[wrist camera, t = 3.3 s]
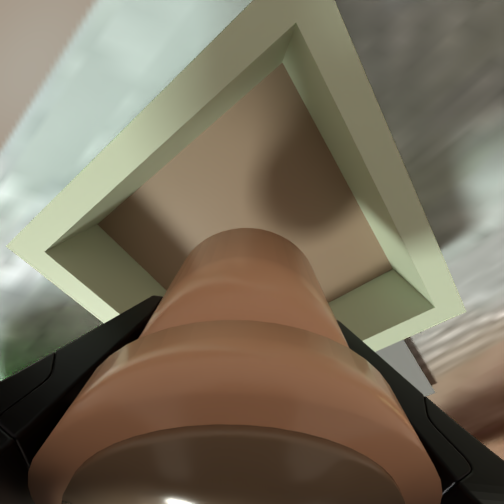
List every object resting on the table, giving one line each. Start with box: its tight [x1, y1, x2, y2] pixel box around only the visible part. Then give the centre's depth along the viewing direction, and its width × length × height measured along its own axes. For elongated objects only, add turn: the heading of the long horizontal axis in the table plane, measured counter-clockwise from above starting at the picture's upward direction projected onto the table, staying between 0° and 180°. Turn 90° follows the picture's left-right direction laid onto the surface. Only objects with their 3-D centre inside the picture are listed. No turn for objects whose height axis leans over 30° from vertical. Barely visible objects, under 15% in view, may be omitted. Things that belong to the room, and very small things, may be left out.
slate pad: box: [376, 340, 435, 396], centre depth 20 cm, size 10×10×1 cm
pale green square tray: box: [6, 0, 466, 352], centre depth 13 cm, size 16×16×4 cm
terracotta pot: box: [28, 228, 442, 504], centre depth 7 cm, size 7×7×7 cm
